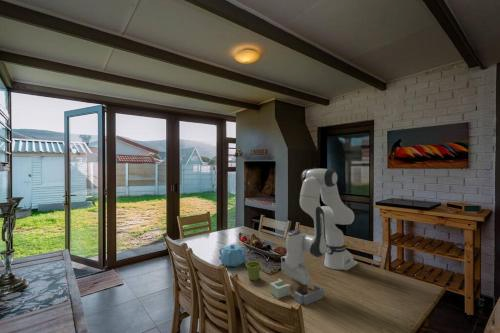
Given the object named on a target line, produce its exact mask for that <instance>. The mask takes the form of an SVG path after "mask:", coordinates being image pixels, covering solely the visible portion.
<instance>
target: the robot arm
mask: <svg viewBox="0 0 500 333" xmlns="http://www.w3.org/2000/svg"><path fill="white" fill-rule="evenodd" d="M338 178H339V177H338V173H337V172H336V170H334V169H332V168H320V167H319V168H307V169H304V170H303V171H302V173H301V176H300V179H301V183H302V185H301V189H300V192H299V206H300V208H301V210H302V211H303V212H305V213H306V214H308V215H309V216H310V217H311V218H312V220H313V225H314V226H313V227H314V228H313V229H314V235H310V234H307V233H303V232H301V230H298V229H292V230H290V231H288V232H287V234H286V236H285V249H286V255H284V256H281V257H280V261H281V262H280V268H281V272H282V273H283V274H285V275H286V276H287V277H290V280H291V283H292V284H293V280H296V281H298V282H300V283H301V284H303V285H308V284H309V285H310V283H311V277H310V276H311V275H310V270H309V269H308V267H307V266H306V265H304V256H303V255H304V254H303V253H307V254H309V255H312V256H313V257H316V258H320V257H323V256H324V255H325V256H324V260H323V261H324V263H323V264H324V266H325V267H327V268H329V269H332V270H343V271H348V270H350V269H352V268H353V267H355V266H356V265H358V262H357V261H356V260H355V259H354V255H353V254H352V253H351V252H350V251H348V250H347V248H349V245H348V244H347V243H344V233H343V231H342V230H341V229H339V228H338V226H336V225H343V226H344V225H351V224H352V223H353V222H354V220H355V213H354V211H353V210H352V209H351V208H349V206H347V205H346V204H345V203H344V202H343V201H342V199H341V196H340V194H339V193H340V192H339V189H338V185H337V184H338V183H337V182H338ZM320 198H321V199H320ZM320 200H321V202H323V204H325V205H323V206H321V203H320Z"/></svg>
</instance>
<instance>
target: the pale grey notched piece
mask: <svg viewBox="0 0 500 333" xmlns="http://www.w3.org/2000/svg"><path fill="white" fill-rule="evenodd" d="M310 287H311V286H310V283H309V284H308V289H310ZM269 291H270V292H269V293H270V294H271V295H272V296H274V297H275V298H277V299H281V298H284V297H287V296H291V285H290V284H288V283H286V284H284V281H283V279H281V278H278V279H277V280H276V281H274V282H273V281H272V282H270V283H269Z"/></svg>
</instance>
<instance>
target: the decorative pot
mask: <svg viewBox="0 0 500 333" xmlns="http://www.w3.org/2000/svg"><path fill="white" fill-rule="evenodd" d="M222 250H223V252H222ZM246 253H247V251H246V249H245V248H242V247H241V246H240V245H237V244H234V243H232V244H229V245H226V246H225V247H220V249H219V254H220V256H219V257H218V259H219V260H220V262H221V264H222V265H223V264H224V266H225V265H226V266H227V267H234V268H238V267H240V266H241V265H242V264H243V262H247V257H246ZM226 266H225V267H226Z"/></svg>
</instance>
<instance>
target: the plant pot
mask: <svg viewBox="0 0 500 333" xmlns="http://www.w3.org/2000/svg"><path fill="white" fill-rule="evenodd" d="M245 266H246V268H247V274H248V278H249V280H250V281H258V280H259V279H260V272H261V266H262V262H260V261H256V260H252V261H248V262H247V263H245Z"/></svg>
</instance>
